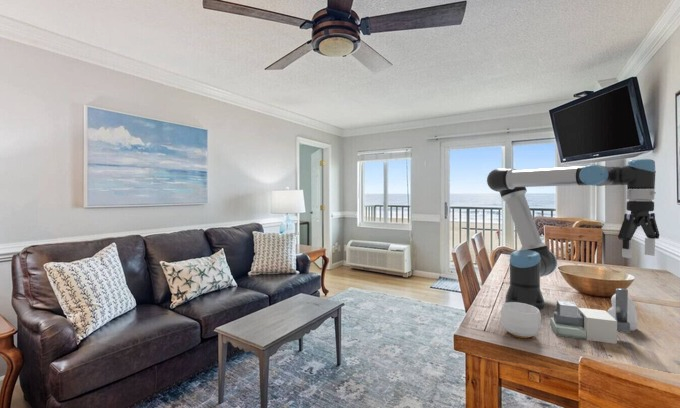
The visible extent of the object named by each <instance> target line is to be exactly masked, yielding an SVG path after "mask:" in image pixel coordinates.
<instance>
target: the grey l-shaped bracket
mask: <svg viewBox="0 0 680 408" xmlns="http://www.w3.org/2000/svg"><path fill="white" fill-rule="evenodd" d="M615 294H616V312H615V320H616V321H617V333H619V332H620V333H626V334H627V333H628V334H630V333H631V330H630V323H629V322H628V321H627V314H628V296H629V290H628V289H626V288H622V287H616V288H615ZM553 317H554V321H555V323H556V324H564V325H572V326H579V327H584V316H583V315H579V314H578V313H577V318H573V317H565V316H560V315H559V314H558V312H557V311H553Z"/></svg>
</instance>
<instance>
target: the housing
mask: <svg viewBox="0 0 680 408" xmlns="http://www.w3.org/2000/svg"><path fill="white" fill-rule="evenodd" d="M577 314H579V315H583V316H584V327H579V326H578V328H579V329H580V330H585V331H586V340H587V341H594V342H601V343H606V344H613V345H618V341H617V340H618V331H617V321H616V320H615V319H614V318H613V317H612V316H611V315H610V314H608V311H606V310H603V309H602V310H601V309H595V308H586V307H585V308H584V307H577ZM586 340H585V341H586Z"/></svg>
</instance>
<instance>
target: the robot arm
mask: <svg viewBox="0 0 680 408" xmlns="http://www.w3.org/2000/svg"><path fill="white" fill-rule="evenodd" d="M486 183H487V186H488V187H489V189H491V190H493V191H494V192H499V194H500V198H501V199H503V200H504V201H506V204H507V208H508V210H509V213H510V216H511V219H512V221H513V224H514V227H515V229H516V233H517V235H518V238H519V242H520V244H521V248H520V249H517V250H515V251H512V252H511V253H510V256H509V287H508V288H507V291H506V294H505V303H507V302H518V303H525V304H528V305H532V306H534V307H536V308H538V309H539V310H542V309H544V308H545V307H546V306H545V299H544V297H543V293H542V290H541V278H542V277H545V276H548V275H550V274H552V273H553V272H554V271H555V270H556V268H557V267H558V260H557V256H556V255H555V254H554V253H553V252H552V251H550V250H549V247H548V244H546V243H545V242H542V239H541V235H540V232H539V231H538V228H537V225H536V223H535V220H534V217H533V214H532V211H531V208H530V205H529V204H528V201H527V197H526V193H527V188H528V187H529V188H530V187H531V188H532V187H535V188H536V187H538V188H539V187H570V186H596V187H601V186H602V187H603V186H605V187H607V186H626V200H628V201H626V209H625V210H626V211H629V212H630V213H624V215H623V216H624V217H623V221H622V224H621V227H620V229H619V232H618V235H617V237H618V240H621V241H622V242H621V243H622V245H621V248H622V249H621V258H626V259H633V240H632V238H633V236H634V235H635V233H636V231H637V229H638V228H639V227H640V226H641V228H642V231H643V232H644V234H645V236H646V237H645V238H644V255H646V256H654V257H655V256H656V254H655V253H656V252H655V251H656V240H658V239H660V232H659V228H658V225H657V220H656V214H655V212H654V211H655V202H654V201H653V200H655V195H656V191H655V189H656V162H655V159H648V158H645V159H644V158H643V159H630V160H629V161H627V164H626V165H620V166H618V165H617V166H605V165H599V164H590V165H583V166H567V167H566V166H565V167H553V168H551V167H550V168H549V167H548V168H538V169H537V168H536V169H535V168H533V169H520V170H518V169H515V168H500V167H499V168H495V169H493V170H491V171H490V172H489V173H488V175H487V176H486Z"/></svg>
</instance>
